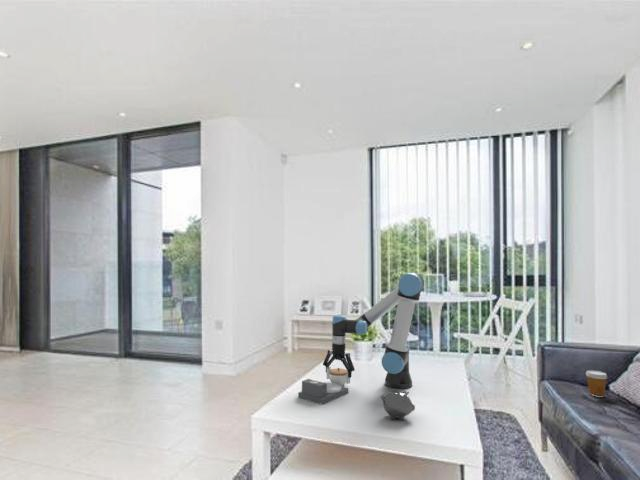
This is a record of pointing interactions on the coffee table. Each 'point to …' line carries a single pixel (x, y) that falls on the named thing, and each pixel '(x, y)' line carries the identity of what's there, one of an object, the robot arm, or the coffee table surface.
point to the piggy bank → (397, 404)
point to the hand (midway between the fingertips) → (338, 381)
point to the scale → (321, 391)
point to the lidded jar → (338, 376)
